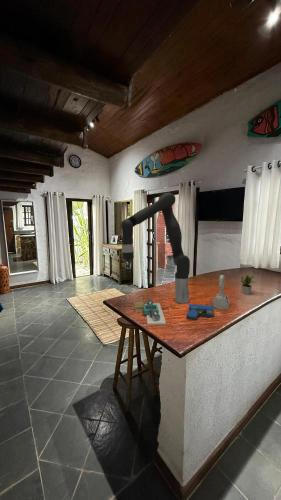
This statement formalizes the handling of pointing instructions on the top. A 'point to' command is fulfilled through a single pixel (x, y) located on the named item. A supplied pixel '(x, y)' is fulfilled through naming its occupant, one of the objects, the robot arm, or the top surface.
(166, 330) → the top surface
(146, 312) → the cradle
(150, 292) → the top surface
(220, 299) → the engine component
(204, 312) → the stun gun
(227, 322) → the top surface
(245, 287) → the house plant
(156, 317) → the shaft
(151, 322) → the base plate
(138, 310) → the yellow cube
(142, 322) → the top surface
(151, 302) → the shaft
